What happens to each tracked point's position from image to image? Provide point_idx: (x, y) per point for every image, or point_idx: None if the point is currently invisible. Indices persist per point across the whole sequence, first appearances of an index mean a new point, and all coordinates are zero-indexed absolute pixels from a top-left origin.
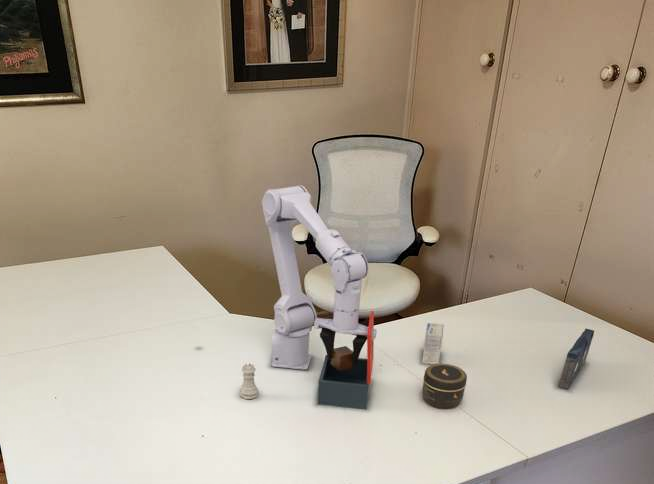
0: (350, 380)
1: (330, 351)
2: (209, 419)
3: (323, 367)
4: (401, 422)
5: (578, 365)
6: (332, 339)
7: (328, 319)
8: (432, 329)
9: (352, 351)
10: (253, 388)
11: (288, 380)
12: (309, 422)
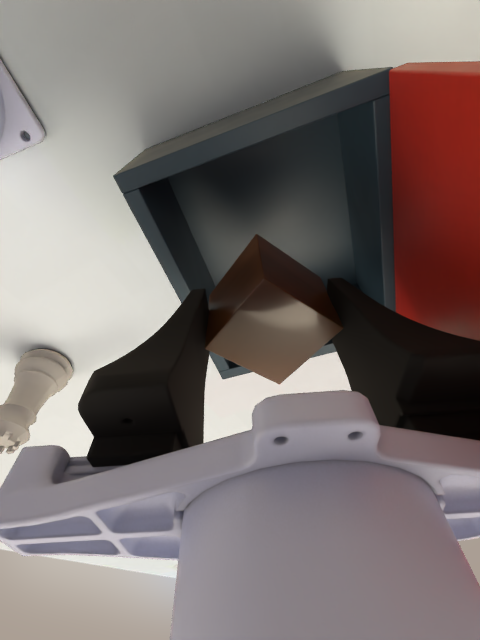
0: (267, 147)
1: (206, 353)
2: (71, 444)
3: (184, 299)
4: None
5: None
6: (194, 380)
7: (94, 516)
8: None
9: (326, 321)
10: (55, 388)
11: (59, 249)
12: (243, 383)
